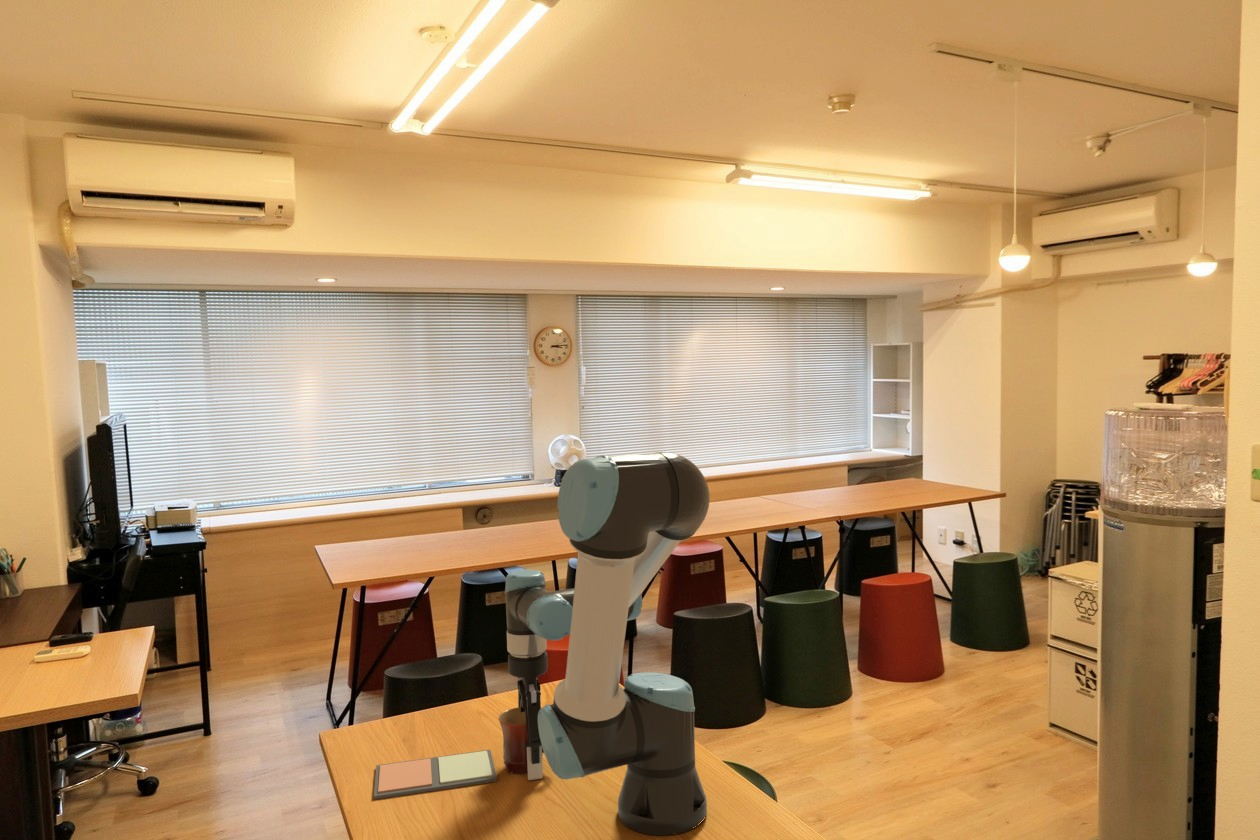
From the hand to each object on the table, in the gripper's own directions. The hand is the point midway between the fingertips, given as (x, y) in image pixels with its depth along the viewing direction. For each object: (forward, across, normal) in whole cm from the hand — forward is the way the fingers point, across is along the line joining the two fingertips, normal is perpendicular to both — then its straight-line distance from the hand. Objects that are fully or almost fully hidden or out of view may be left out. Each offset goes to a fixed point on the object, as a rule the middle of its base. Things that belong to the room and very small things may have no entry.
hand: (531, 766), depth 162 cm
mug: (0, 0, 0) cm, 0 cm away
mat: (0, +3, +18) cm, 18 cm away
